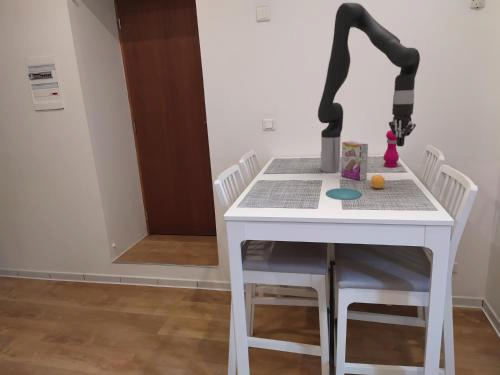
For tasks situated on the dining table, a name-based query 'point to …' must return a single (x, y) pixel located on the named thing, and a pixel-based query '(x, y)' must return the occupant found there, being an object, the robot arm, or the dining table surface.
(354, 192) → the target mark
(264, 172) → the dining table surface
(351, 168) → the candy bar box
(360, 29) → the robot arm
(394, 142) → the pepper mill
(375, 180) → the ball
